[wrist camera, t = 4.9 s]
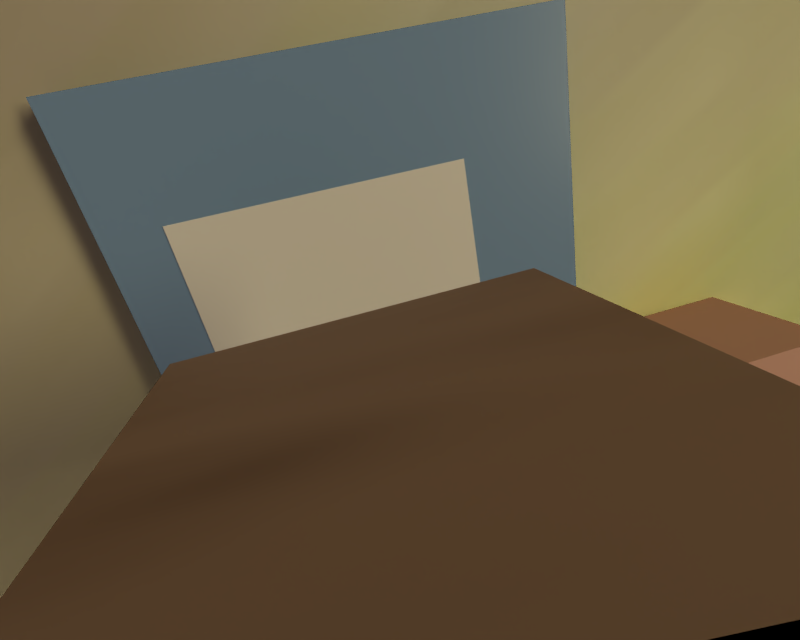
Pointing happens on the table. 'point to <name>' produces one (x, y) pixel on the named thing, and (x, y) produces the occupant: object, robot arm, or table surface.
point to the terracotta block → (739, 334)
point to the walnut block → (439, 486)
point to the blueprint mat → (325, 176)
